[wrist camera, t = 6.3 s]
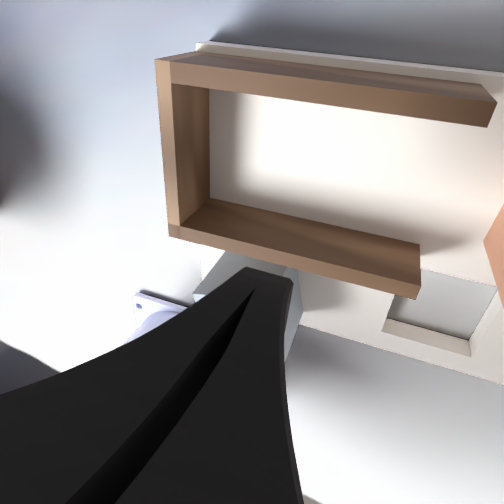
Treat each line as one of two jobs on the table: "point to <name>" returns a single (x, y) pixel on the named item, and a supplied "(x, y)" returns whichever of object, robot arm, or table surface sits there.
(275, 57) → the deck
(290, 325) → the white block
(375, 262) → the walnut cubby
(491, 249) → the terracotta cube
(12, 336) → the table surface
